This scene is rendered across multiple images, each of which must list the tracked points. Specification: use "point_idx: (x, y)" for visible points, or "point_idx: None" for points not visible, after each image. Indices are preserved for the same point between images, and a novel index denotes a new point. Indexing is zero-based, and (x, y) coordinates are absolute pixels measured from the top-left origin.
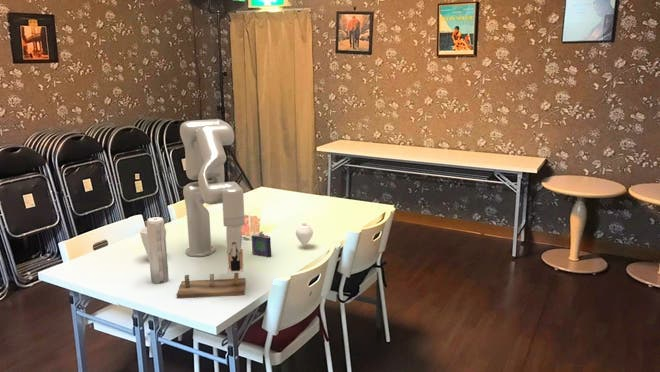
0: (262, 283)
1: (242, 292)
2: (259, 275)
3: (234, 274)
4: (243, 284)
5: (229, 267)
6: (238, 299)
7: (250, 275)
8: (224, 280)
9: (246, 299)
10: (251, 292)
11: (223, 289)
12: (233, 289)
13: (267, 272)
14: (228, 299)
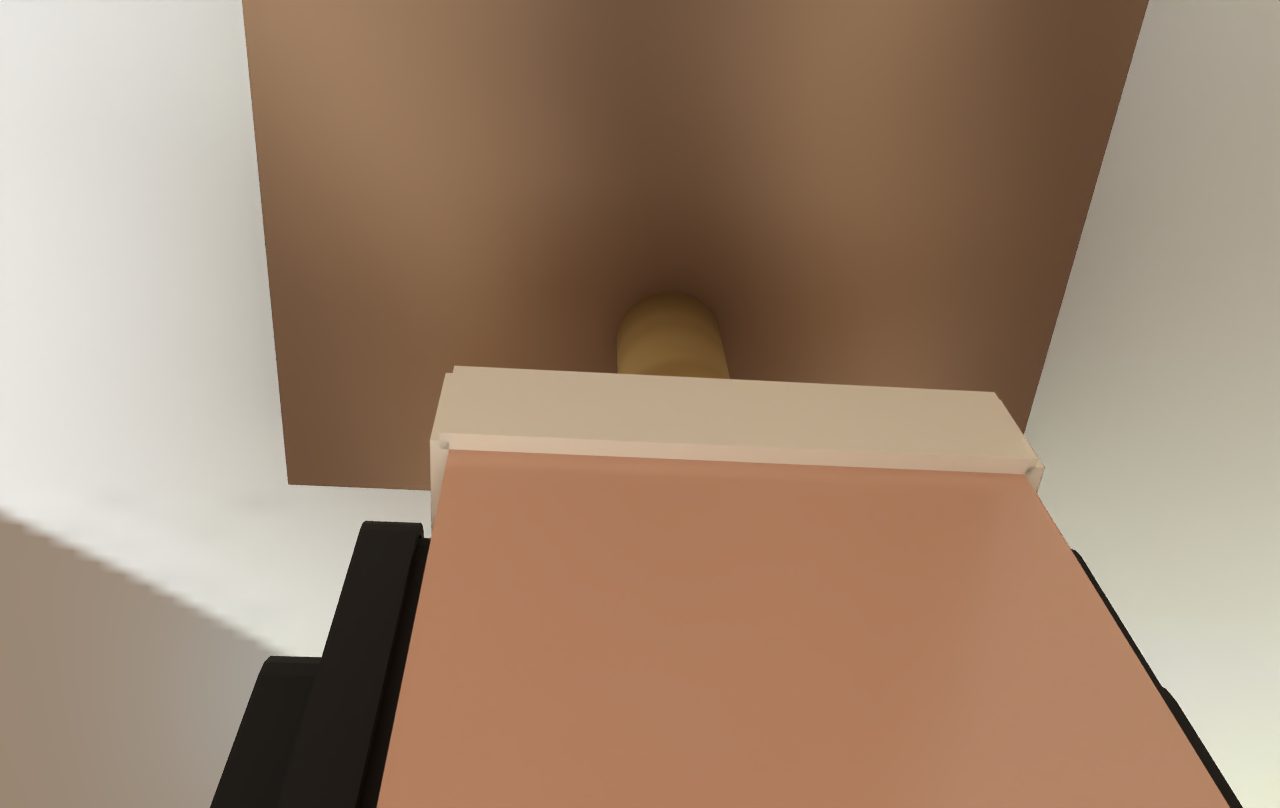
0: None
1: (289, 434)
2: (1181, 685)
3: None
4: None
5: (440, 524)
6: (92, 321)
7: (1259, 550)
8: (1038, 36)
9: (100, 465)
10: None
11: (428, 9)
12: (404, 263)
13: (1252, 792)
14: (81, 108)
